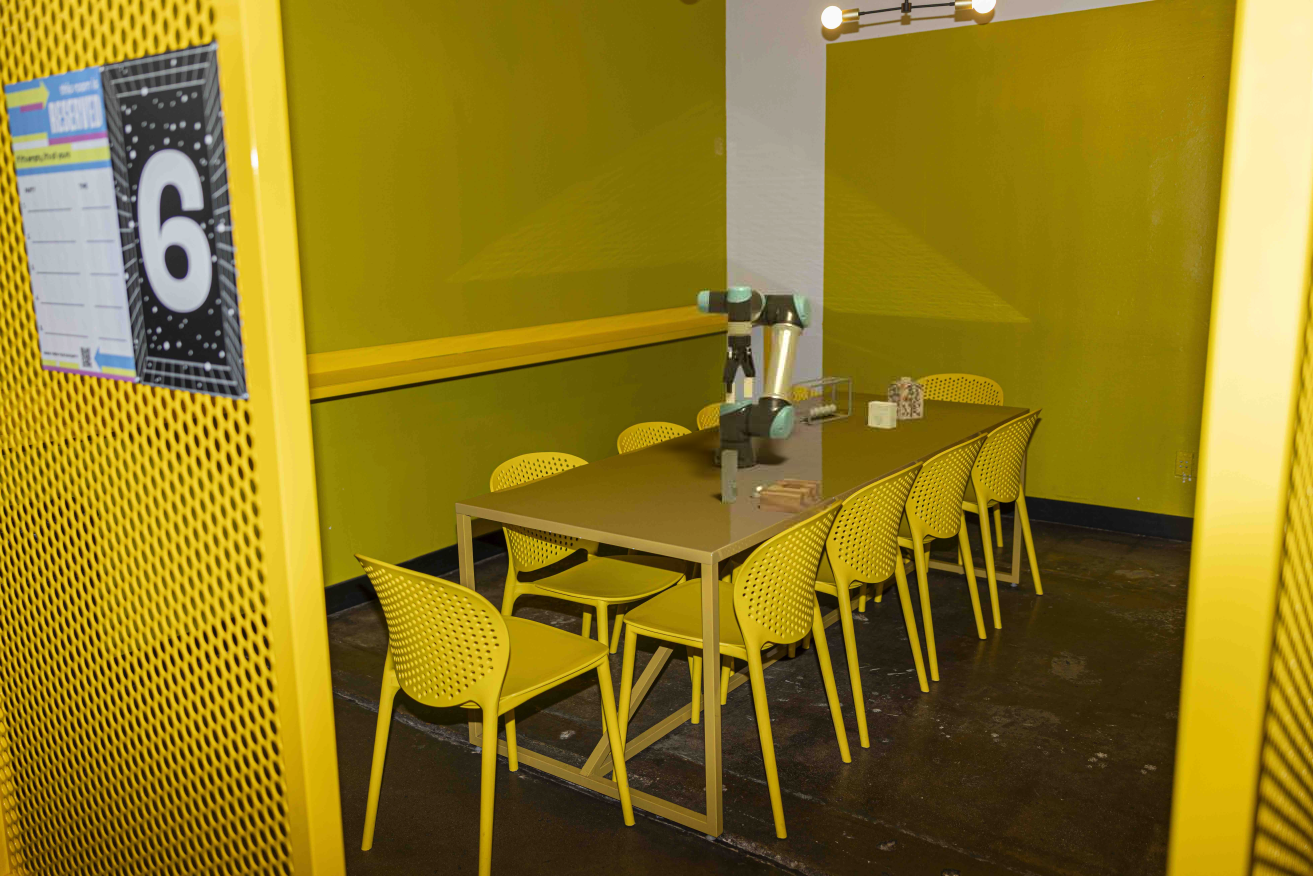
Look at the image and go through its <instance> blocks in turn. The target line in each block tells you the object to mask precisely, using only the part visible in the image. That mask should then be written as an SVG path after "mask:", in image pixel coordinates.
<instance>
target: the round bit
mask: <svg viewBox="0 0 1313 876" xmlns="http://www.w3.org/2000/svg"><path fill="white" fill-rule="evenodd" d="M773 485H774V483H773V482H772V481H771V480H765V481H763V482H762V483H760V484H758V485H757V486H755V487H752V488H751V490H750V495H751V497H752V498H753V497H756V498H755V499H760V493H761V492H763V491H764V490H766V489H768V488H769V487H771V486H773Z"/></svg>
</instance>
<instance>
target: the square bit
mask: <svg viewBox="0 0 1313 876" xmlns="http://www.w3.org/2000/svg"><path fill="white" fill-rule="evenodd" d="M735 501H736V502H737V501H738V468H737V451H735V450H725V451H723V452H722V467H721V502H722V503H725V502H730V503H729V504H734V503H736V502H735ZM733 502H734V503H733Z"/></svg>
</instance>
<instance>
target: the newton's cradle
mask: <svg viewBox="0 0 1313 876" xmlns="http://www.w3.org/2000/svg"><path fill="white" fill-rule="evenodd" d="M844 382H848V412H847V414H845V415H844V414H838V413H837V414H836V411H837V406H836V405H835V395H836V391H837V390H836V389H837V388H836V386H837V385H838V384H839V383H844ZM852 383H853V382H852V380H851V378H839V377H834V376H826V377H820V378H816V379H810V380H804V381H797V382H794V383H792V385H791V390H790V391H791V393H790V394H791V395H790V397H791V398H790V399H791V401H790V402H791V407H793V409H794V410H795V387H796V386H804V387H805V386H806V387H808V388H806V389H807V390H806V391H807V410H806V412H805V416H806V417H803V418H799V419H795V420H794V422H796V423H798V421H801V420H806V421H807V422H806V423H807V424H806V425H809V426H814V425H813V424H816V425H819V424H818V423H820V424H824V423H823V422H825V423H829V422H833V420H834V421H837V419H838V420H842V419H841V418H843V419H846V418H845V417H847V418H849V417H850V416H851V415H852V387H853V385H852ZM830 385H831V386H830ZM822 386H823V387H824V389H823V391H824V394H823V396H824V398H823V401H822V402H824V399H825V401H827V398H826V388H827V386H828V387H829V389H828V390H829V391H832V392H831V393H832V394H831V393H829V395H828V397H829V398H831V400H829V399H828V402H827V403H829V401H830V403H831V404H830V405H829V404H825V406H824V403H822V402H821V400H820V398H821V395H820V393H821V390H820V388H821V387H822ZM816 387H818V388H817V389H818V398H817V400H819V402H820V403H819V402H817V403H816V404H814V408H813V409H812V406H813V405H812V402H813V401H814V402H816V399H815V391H816V390H815V389H816ZM812 389H813V390H812ZM812 393H813V395H812ZM811 395H812V396H811ZM811 397H813V398H811ZM811 399H812V401H811ZM819 404H820V406H819V407H818V405H819ZM816 405H817V406H816ZM828 415H829V416H832V415H833V416H835V417H832V418H828V419H822V420H819V421H815V422H811V420H813V419H812V418H815V419H818V418H817V417H819V418H823V417H822V416H824V417H828ZM836 416H837V417H836ZM807 419H808V420H807ZM828 421H829V422H828ZM801 422H802V423H801V424H805V421H801Z"/></svg>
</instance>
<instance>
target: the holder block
mask: <svg viewBox="0 0 1313 876" xmlns="http://www.w3.org/2000/svg"><path fill="white" fill-rule="evenodd" d="M821 488H822V482H821V481H815V480H814V481H813V480H803V479H796V478H795V479H794V478H786V477H785V478H783V479H782V480H780V481H778V482H777V483H775V484H773V486H771V487H769V488H768V489H766V490H764V491H763V492H761V493H760V498H759V501H760V502H759V503H760V506H759V509H760V510H765V509H766V511H775V512H783V513H791V514H799V513H800V512H802V511H804V510H805V509H806V508H808V507H809V506H810V505H812V504H813V503H815V502H817V501H818V500H819V499H821V498H822V497H821V496H822V489H821Z"/></svg>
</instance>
